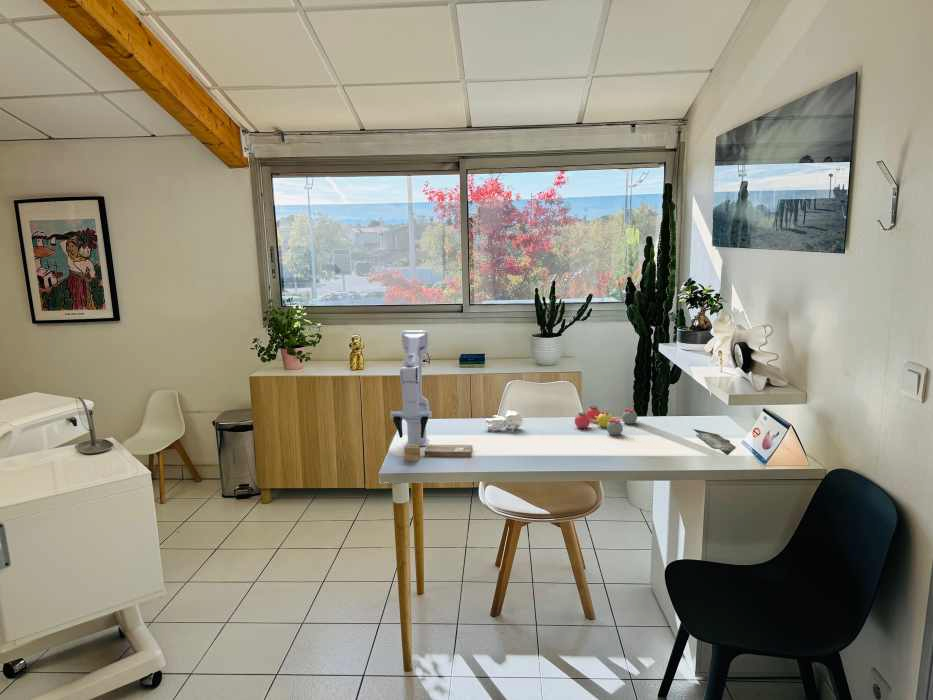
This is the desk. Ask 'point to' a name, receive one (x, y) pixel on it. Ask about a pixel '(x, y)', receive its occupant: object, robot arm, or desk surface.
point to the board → (448, 450)
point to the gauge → (412, 452)
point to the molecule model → (605, 419)
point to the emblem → (715, 441)
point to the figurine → (505, 421)
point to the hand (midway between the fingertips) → (411, 437)
